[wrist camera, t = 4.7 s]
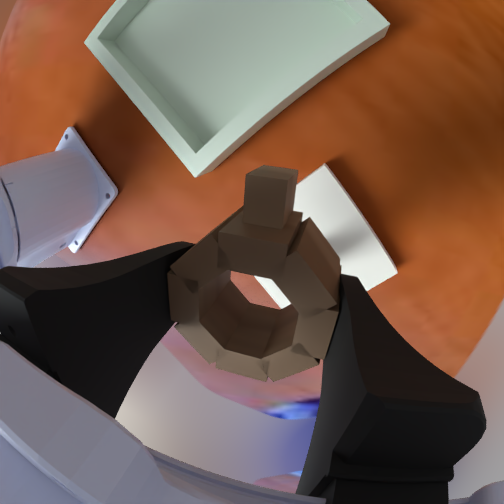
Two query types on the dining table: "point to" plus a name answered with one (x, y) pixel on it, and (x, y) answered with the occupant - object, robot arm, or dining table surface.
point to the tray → (226, 63)
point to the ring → (267, 266)
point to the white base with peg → (339, 231)
